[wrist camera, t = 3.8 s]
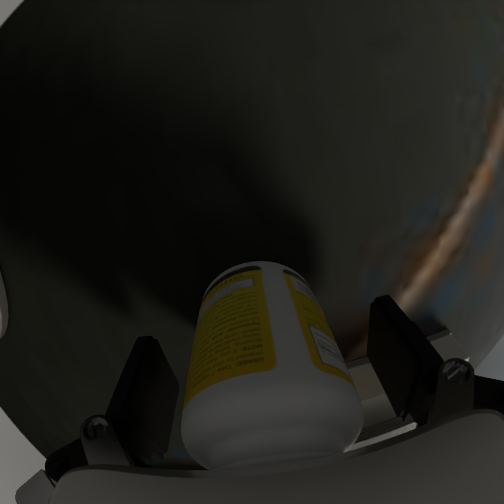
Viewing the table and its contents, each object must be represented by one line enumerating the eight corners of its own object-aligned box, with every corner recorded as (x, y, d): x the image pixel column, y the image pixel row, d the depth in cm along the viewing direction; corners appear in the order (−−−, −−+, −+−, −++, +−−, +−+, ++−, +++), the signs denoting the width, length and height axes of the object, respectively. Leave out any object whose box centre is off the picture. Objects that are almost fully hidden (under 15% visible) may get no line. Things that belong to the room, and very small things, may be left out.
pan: (310, 425, 12) (316, 453, 10) (450, 377, 12) (463, 397, 10) (311, 467, 15) (315, 487, 13) (423, 431, 14) (431, 448, 13)
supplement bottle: (195, 343, 14) (168, 530, 5) (210, 247, 12) (160, 490, 3) (295, 357, 14) (334, 528, 5) (329, 269, 12) (442, 464, 3)
